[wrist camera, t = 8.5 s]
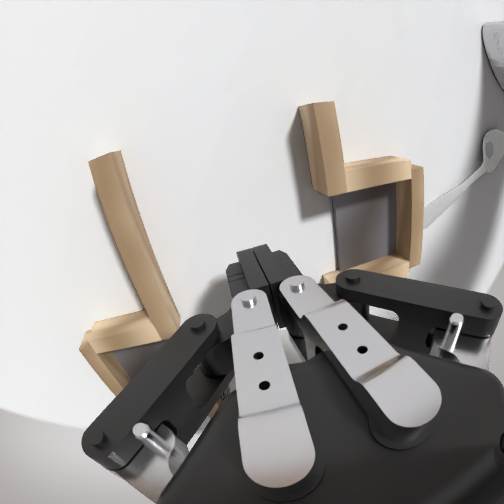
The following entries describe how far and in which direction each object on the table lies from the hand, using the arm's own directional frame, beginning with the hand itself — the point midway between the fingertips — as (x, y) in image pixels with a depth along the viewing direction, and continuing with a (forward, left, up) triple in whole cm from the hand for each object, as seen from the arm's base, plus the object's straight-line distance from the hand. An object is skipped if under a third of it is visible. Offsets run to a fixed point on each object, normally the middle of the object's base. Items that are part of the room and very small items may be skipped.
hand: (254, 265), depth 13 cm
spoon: (-19, 0, -4) cm, 20 cm away
